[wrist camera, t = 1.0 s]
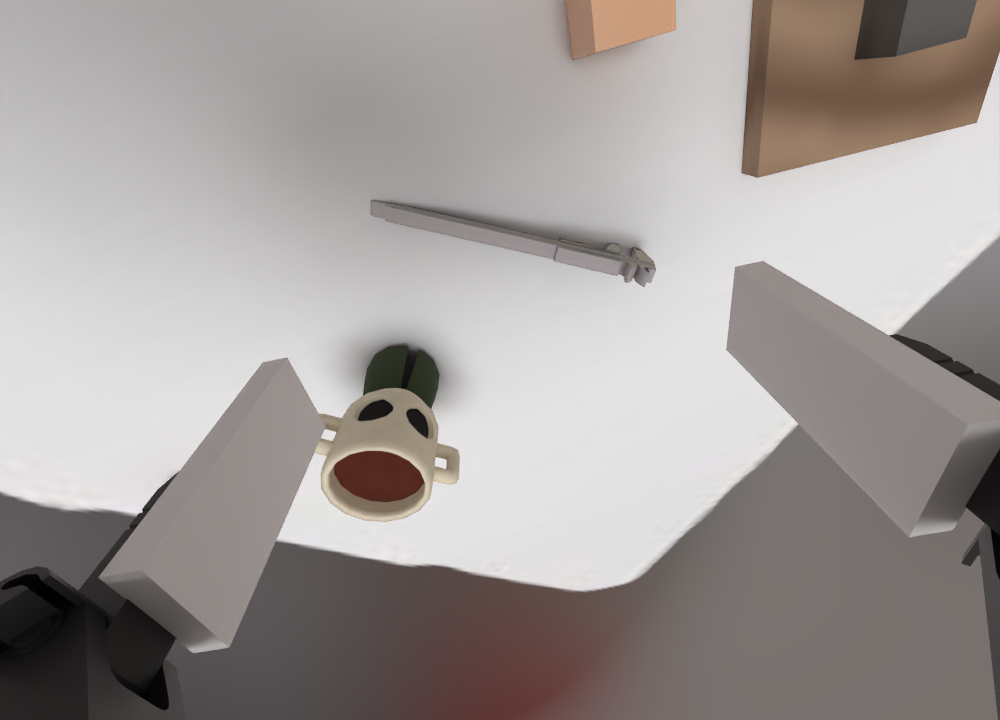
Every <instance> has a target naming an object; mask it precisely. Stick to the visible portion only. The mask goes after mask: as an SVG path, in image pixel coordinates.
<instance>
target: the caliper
mask: <svg viewBox="0 0 1000 720" xmlns="http://www.w3.org/2000/svg"><path fill="white" fill-rule="evenodd" d="M371 215H373V216H376V217H380V218H384V219H385V221H388V222H393V223H397V224H401V225H406V226H410V227H414V228H419V229H423V230H428V231H432V232H436V233H441V234H445V235H449V236H454V237H458V238H463V239H467V240H471V241H476V242H480V243H484V244H489V245H493V246H498V247H502V248H506V249H511V250H515V251H520V252H524V253H528V254H533V255H537V256H542V257H546V258H550V259H554V261H555V262H560V263H564V264H568V265H573V266H577V267H581V268H585V269H590V270H594V271H598V272H603V273H607V274H611V275H616V276H618V274H620V275H622V276H624V277H625V278H624V280H625V282H626V283H628V282H630V281H632V279H633V278H634V279H635V281H636V282H637V283H638V284H640V285H641V286H643V287H645V284H646V282H648V283H651V281H652V279H653V276H654V274H655V271H656V268H655V264H654V261H653V260H652V259H651V258H650V257H649V256H648V255H647V254H646V253H645V252H643V251H642V250H641V249H639V248H636V247H634V248H633V251H632V254H631V257H628V256H624V255H621V254H620V253H621V251H620V247H619V246H618V244H615V243H611V244H610V245H609V246H607V247H606V248H605V249H599V248H595V247H593V246H590V245H586V244H583V243H580V242H573V241H569V240H566V239H562V238H559V240H554V239H550V238H545V237H541V236H536V235H532V234H528V233H523V232H519V231H514V230H510V229H505V228H501V227H497V226H492V225H488V224H483V223H479V222H475V221H470V220H466V219H462V218H457V217H453V216H449V215H444V214H440V213H435V212H431V211H427V210H422V209H418V208H414V207H408V206H403V205H397V204H388V203H383V202H379V201H374V200H371Z"/></svg>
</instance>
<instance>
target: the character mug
mask: <svg viewBox="0 0 1000 720" xmlns="http://www.w3.org/2000/svg"><path fill="white" fill-rule="evenodd" d="M407 352H408V347H405V346H401V347H391V348H387V349H386V350H384V351H382V352H380V353H378V354H377V355H375V356H374V358H373V360H372V361H371V363H370V365H369V366H368V368H367V372H366V377H365V383H364V392H363V396H362V397H361V398H359V399H358V400H356V401H355V402H353V403H352V404H351V405H350V406H349V408H348V410H347V411H346V413H345V414H344V416H343V417H342V418H338V417H334V416H330V415H327V414H319V416H320V417H321V419H322V421H323V423H324V425H325V426H326V427H325V429H327V430H331V431H335V432H337V433H336V435H335V438H334V440H333V441H329V440H325V439H321V438H320V440H319V443H318V445H317V447H316V450H315V452H314V453H317V454H321V455H325V456H327V457H326V460H325V462H324V465H323V468H322V471H321V489H322V490H323V492H324V494H325V495H326V497H327V498H328V500H329V502H330V503H331V504H333V505H334V506H335V507H337V508H338V509H340V510H341V511H342V512H344V513H345V514H348V515H351V516H354V517H356V518H359V519H362V520H368V521H381V522H386V521H392V520H397V519H403V518H406V517H408V516H410V515H411V514H413V513H415V512H417V511H419V510H420V509H421V508H422V507H423V506H424V505H425V503H426V502H427V501H428V500H429V499H430V495H431V490H432V484H433V481H435V482H439V483H444V484H455V483H457V481H458V479H459V458H460V457H459V452H458V450H457V449H455V448H453V447H450V446H446V445H442V444H438V443H437V440H438V424H437V422H436V420H435V417H434V414H433V411H432V410H431V408H432V405H433V403H434V400H435V396H436V393H437V389H438V381H439V373H438V370H437V368H436V366H435V364H434V361H432V360H431V359H430V358H429V357H428V356H427V355H426V354H424V353H423V352H421V351H418V354H417V358H416V360H415V359H413V358H412V357H407ZM435 457H439V458H443V459H446V460H447V467H446V469H443V468H439V467H435V466H434V465H435Z"/></svg>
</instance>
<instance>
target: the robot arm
mask: <svg viewBox="0 0 1000 720" xmlns="http://www.w3.org/2000/svg"><path fill="white" fill-rule="evenodd" d="M726 350H727V351H728V352H729V353H730V354H731V355H732V356H733V357H734V358H735V359H736V360H737V361H738V362H739V363H740V364H741V365H742V366H743V367H744V368H745V369H746V370H747V371H748V372H749V373H750V374H751V375H752V376H753V377H754V378H755V379H756V381H757V382H758V383H759V384H760V385H761V386H762V387H763V388H764V389H765V390H766V391H767V392H768V393H769V394H770V395H771V396H772V397H773V398H774V399H775V400H776V401H777V402H778V403H779V404H780V405H781V406H782V407H783V408H784V409H785V410H786V411H787V412H788V413H789V414H790V415H791V416H792V417H793V418H794V420H795V421H796V422H797V423H798V424H799V425H800V426H801V427H802V428H803V429H804V430H805V431H806V432H807V433H808V434H809V435H810V436H811V437H812V438H813V439H814V440H815V441H816V442H817V443H818V444H819V445H820V446H821V447H822V448H823V449H824V450H825V451H826V452H827V453H828V454H829V455H830V456H831V457H832V458H833V460H834V461H835V462H836V463H837V464H838V465H839V466H840V467H841V468H842V469H843V470H844V471H845V472H846V473H847V474H848V475H849V476H850V477H851V478H852V479H853V480H854V481H855V482H856V483H857V484H858V485H859V486H860V487H861V488H862V489H863V490H864V491H865V492H866V493H867V494H868V495H869V496H870V497H871V499H872V500H873V501H875V503H876V504H877V505H878V506H879V507H880V508H881V509H882V510H883V511H884V512H885V513H886V514H887V515H888V516H889V517H890V518H891V519H892V520H893V521H894V522H895V523H896V524H897V525H898V526H899V527H900V528H901V529H902V530H903V531H904V532H905V533H906V534H907V535H908V536H909V537H913V536H919V535H925V534H931V533H937V532H943V531H949V530H953V529H954V527H955V526H956V524H957V522H958V521H959V519H960V517H961V516H962V514H963V512H964V511H965V509H966V508H968V509H969V510H970V511H971V512H972V513H974V514H975V515H976V516H977V517H978V518H980V519H981V520H982V521H983V522H984V523H985V524H984V525H983V527H982V528H981V530H980V531H979V533H978V534H977V536H976V537H975V539H974V540H973V542H972V543H971V545H970V546H969V548H968V549H967V551H966V552H965V554H964V557H963V560H962V564H965V565H968V566H971V564H972V563H973V561H974V560H975V559H976V557H977V556H979V555H980V557H981V566H982V576H983V585H984V594H985V603H986V611H987V621H988V630H989V639H990V649H991V658H992V667H993V676H994V686H995V694H996V704H997V713H998V720H1000V385H999V384H997V383H996V382H994V381H992V380H990V379H989V378H986V377H985V376H983V375H981V374H979V373H977V374H975V373H974V372H973V370H972V369H971V368H969V367H967V366H965V365H964V364H962V363H960V362H958V361H955V362H953V360H952V358H951V357H949V356H948V355H946V354H944V353H942V352H940V351H938V350H937V349H935V348H933V347H931V346H930V345H928V344H925V343H922V342H919V341H916V340H913V339H910V338H907V337H904V336H900V335H897V334H895V335H887V334H885V333H884V332H882V331H880V330H878V329H877V328H875V327H873V326H872V325H870V324H868V323H867V322H865V321H863V320H862V319H860V318H858V317H857V316H855V315H853V314H851V313H850V312H848V311H846V310H845V309H843V308H841V307H840V306H838V305H836V304H835V303H833V302H831V301H829V300H828V299H826V298H824V297H823V296H821V295H819V294H818V293H816V292H814V291H813V290H811V289H809V288H808V287H806V286H804V285H802V284H801V283H799V282H797V281H796V280H794V279H792V278H791V277H789V276H787V275H786V274H784V273H782V272H781V271H779V270H777V269H775V268H774V267H772V266H770V265H769V264H767V263H765V262H764V261H762V262H757V263H752V264H747V265H742V266H737V267H735V273H734V283H733V292H732V302H731V311H730V320H729V330H728V339H727V349H726ZM325 427H326V426H325V425H324V423H323V421H322V419H321V417H320V416H319V414H318V412H317V410H316V408H315V407H314V405H313V403H312V401H311V399H310V398H309V396H308V394H307V392H306V390H305V389H304V387H303V385H302V383H301V381H300V380H299V378H298V376H297V374H296V373H295V371H294V369H293V367H292V365H291V364H290V362H289V360H288V358H283V359H278V360H273V361H268V362H264V363H262V364H261V366H260V367H259V368H258V370H257V371H256V372H255V373H254V375H253V376H252V377H251V379H250V380H249V381H248V383H247V384H246V385H245V387H244V388H243V389H242V390H241V392H240V393H239V394H238V396H237V397H236V398H235V400H234V401H233V402H232V404H231V405H230V406H229V407H228V409H227V410H226V411H225V413H224V414H223V415H222V417H221V418H220V419H219V420H218V422H217V423H216V424H215V426H214V427H213V428H212V430H211V431H210V432H209V434H208V435H207V436H206V437H205V439H204V440H203V441H202V443H201V444H200V445H199V447H198V448H197V449H196V451H195V452H194V453H193V454H192V456H191V457H190V458H189V460H188V461H187V462H186V464H185V465H184V466H183V467H182V469H181V470H180V471H179V472H178V473H176V474H175V475H174V476H173V477H172V478H171V479H169V480H168V481H167V482H166V483H165V484H164V485H163V486H161V487H160V488H159V489H158V490H157V491H156V492H155V494H154V495H153V496H152V498H151V499H150V500H149V501H148V503H147V504H146V505H145V506H144V508H143V509H142V510H143V512H142V513H139V514H138V515H137V517H136V518H135V519H134V520H133V522H132V523H131V524H130V529H129V530H126V531H125V532H124V533H123V534H122V536H121V537H120V538H119V540H118V541H117V542H116V543H115V545H114V546H113V547H112V549H111V550H110V551H109V552H108V554H107V555H106V556H105V557H104V559H103V560H102V561H101V562H100V564H99V565H98V566H97V568H96V569H95V570H94V571H93V573H92V574H91V575H90V577H89V578H88V579H87V580H86V582H85V583H84V584H83V585H82V587H81V588H80V589H79V590H76V589H75V588H74V587H72V586H71V585H70V584H68V583H67V582H65V581H64V580H63V579H62V578H60V577H59V576H57V575H56V574H55V573H53V572H52V571H51V570H49V569H48V568H44V567H34V568H30V569H26V570H23V571H20V572H18V573H16V574H14V575H12V576H10V577H8V578H6V579H4V580H2V581H1V582H0V720H187V719H186V714H185V709H184V705H183V700H182V695H181V690H180V685H179V680H178V675H177V671H176V667H175V665H174V664H173V662H172V660H171V659H169V658H168V657H167V654H168V652H169V650H170V649H171V647H172V645H173V643H174V641H175V639H176V640H177V641H179V642H180V643H181V644H183V645H184V646H185V647H186V648H188V649H189V650H190V651H191V652H193V653H198V652H204V651H210V650H216V649H222V648H229V647H230V645H231V642H232V640H233V638H234V636H235V633H236V631H237V628H238V626H239V624H240V622H241V619H242V617H243V615H244V613H245V610H246V608H247V606H248V603H249V601H250V599H251V597H252V594H253V592H254V589H255V587H256V585H257V583H258V580H259V578H260V576H261V573H262V571H263V569H264V567H265V564H266V562H267V560H268V557H269V555H270V553H271V550H272V548H273V546H274V544H275V541H276V539H277V537H278V535H279V532H280V530H281V528H282V525H283V523H284V521H285V518H286V516H287V514H288V512H289V509H290V507H291V505H292V502H293V500H294V498H295V495H296V493H297V491H298V489H299V486H300V484H301V482H302V479H303V477H304V475H305V473H306V470H307V468H308V466H309V463H310V461H311V459H312V456H313V454H314V452H315V450H316V447H317V445H318V443H319V440H320V438H321V436H322V433H323V431H324V429H325Z"/></svg>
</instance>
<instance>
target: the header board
mask: <svg viewBox="0 0 1000 720" xmlns="http://www.w3.org/2000/svg"><path fill="white" fill-rule="evenodd" d="M999 52H1000V0H753V13H752V28H751V43H750V58H749V74H748V89H747V104H746V119H745V134H744V149H743V164H742V173H744V174H747V175H751V176H754V177H757V178H758V177H762V176H766V175H770V174H774V173H778V172H782V171H786V170H790V169H794V168H798V167H802V166H806V165H810V164H814V163H818V162H822V161H826V160H830V159H834V158H838V157H842V156H846V155H850V154H854V153H858V152H862V151H866V150H870V149H874V148H878V147H882V146H886V145H890V144H894V143H898V142H902V141H906V140H910V139H914V138H918V137H922V136H926V135H930V134H934V133H938V132H942V131H946V130H950V129H954V128H958V127H962V126H965V125H969V124H973V123H977V120H978V117H979V114H980V111H981V108H982V104H983V101H984V98H985V95H986V92H987V89H988V86H989V83H990V80H991V77H992V74H993V71H994V67H995V64H996V61H997V58H998V55H999Z"/></svg>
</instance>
